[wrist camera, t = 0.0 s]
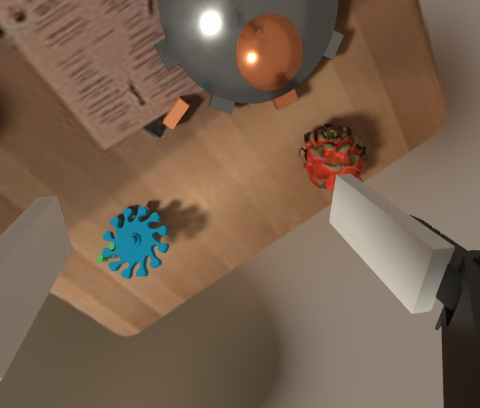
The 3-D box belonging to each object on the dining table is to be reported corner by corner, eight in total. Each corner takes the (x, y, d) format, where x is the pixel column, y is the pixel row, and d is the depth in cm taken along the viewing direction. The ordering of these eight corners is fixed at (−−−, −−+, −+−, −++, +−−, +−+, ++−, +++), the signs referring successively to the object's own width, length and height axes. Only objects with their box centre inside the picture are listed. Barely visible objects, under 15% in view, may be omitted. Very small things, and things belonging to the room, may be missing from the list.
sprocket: (130, -138, 28) (109, -222, 19) (356, -118, 31) (423, -181, 23) (160, 114, 38) (155, 132, 29) (329, 108, 41) (368, 122, 33)
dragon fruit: (298, 114, 44) (335, 165, 50) (275, 160, 41) (317, 208, 48) (353, 101, 37) (387, 161, 44) (331, 155, 34) (370, 211, 41)
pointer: (179, 96, 38) (179, 98, 36) (188, 103, 39) (189, 106, 37) (163, 119, 39) (162, 122, 37) (172, 126, 40) (172, 129, 38)
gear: (155, 194, 42) (173, 264, 39) (174, 204, 47) (190, 265, 45) (87, 221, 43) (98, 291, 40) (112, 227, 49) (124, 289, 46)
